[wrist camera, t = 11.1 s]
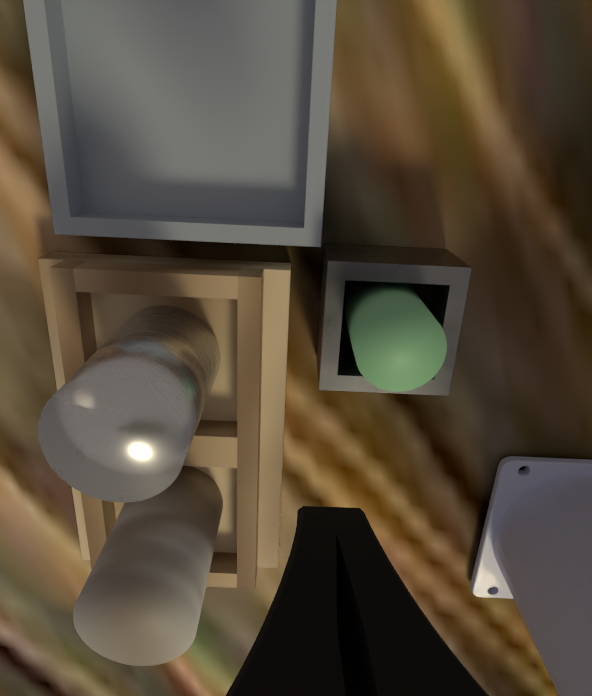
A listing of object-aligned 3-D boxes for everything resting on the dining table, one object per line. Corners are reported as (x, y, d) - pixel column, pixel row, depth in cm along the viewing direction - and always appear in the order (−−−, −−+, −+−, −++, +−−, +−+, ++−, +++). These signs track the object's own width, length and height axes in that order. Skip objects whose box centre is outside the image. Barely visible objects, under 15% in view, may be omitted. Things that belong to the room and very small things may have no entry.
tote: (337, -60, 15) (342, -85, 14) (319, 237, 19) (321, 246, 17) (41, -76, 15) (9, -103, 14) (76, 225, 19) (54, 234, 17)
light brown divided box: (291, 262, 19) (285, 327, 12) (278, 548, 24) (270, 701, 18) (53, 251, 19) (-81, 310, 12) (92, 540, 24) (14, 691, 18)
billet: (220, 309, 19) (183, 383, 13) (220, 404, 20) (186, 507, 15) (111, 301, 18) (28, 372, 13) (119, 397, 20) (48, 497, 15)
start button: (421, 274, 19) (453, 309, 15) (412, 344, 20) (439, 393, 16) (347, 271, 19) (359, 304, 15) (341, 341, 20) (350, 389, 16)
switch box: (446, 249, 19) (471, 267, 16) (428, 361, 21) (448, 395, 18) (323, 243, 19) (328, 260, 16) (316, 356, 21) (318, 389, 18)
